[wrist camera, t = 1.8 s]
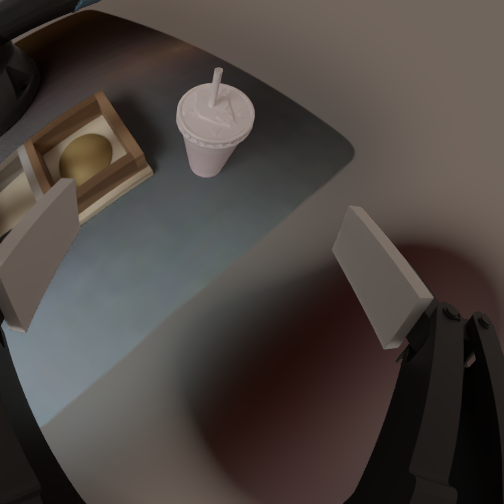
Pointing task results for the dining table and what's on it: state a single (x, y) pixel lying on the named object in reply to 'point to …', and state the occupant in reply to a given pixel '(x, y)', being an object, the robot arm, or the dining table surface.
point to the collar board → (73, 162)
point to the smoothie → (213, 124)
